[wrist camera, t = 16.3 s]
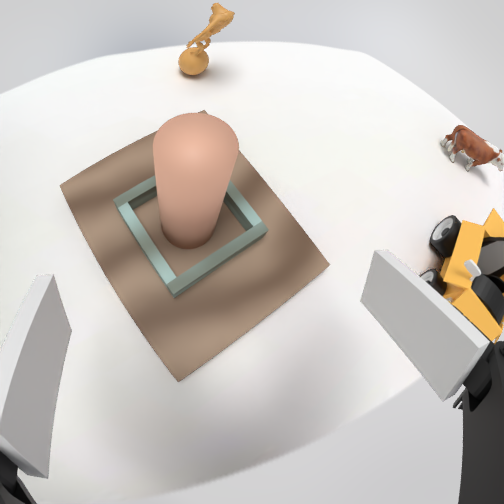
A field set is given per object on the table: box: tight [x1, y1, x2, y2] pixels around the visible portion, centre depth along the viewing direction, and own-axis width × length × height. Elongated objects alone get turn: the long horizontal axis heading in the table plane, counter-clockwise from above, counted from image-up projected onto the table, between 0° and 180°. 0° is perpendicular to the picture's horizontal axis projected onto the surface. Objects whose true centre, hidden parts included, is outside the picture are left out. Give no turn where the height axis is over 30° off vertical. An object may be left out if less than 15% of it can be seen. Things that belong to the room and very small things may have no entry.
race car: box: [420, 208, 504, 344], centre depth 31 cm, size 15×15×11 cm
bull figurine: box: [441, 125, 504, 171], centre depth 41 cm, size 4×13×8 cm, turn 73°
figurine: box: [179, 3, 235, 75], centre depth 30 cm, size 8×6×12 cm
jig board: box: [60, 110, 330, 382], centre depth 28 cm, size 22×18×4 cm
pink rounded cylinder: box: [153, 113, 239, 249], centre depth 22 cm, size 5×5×12 cm
